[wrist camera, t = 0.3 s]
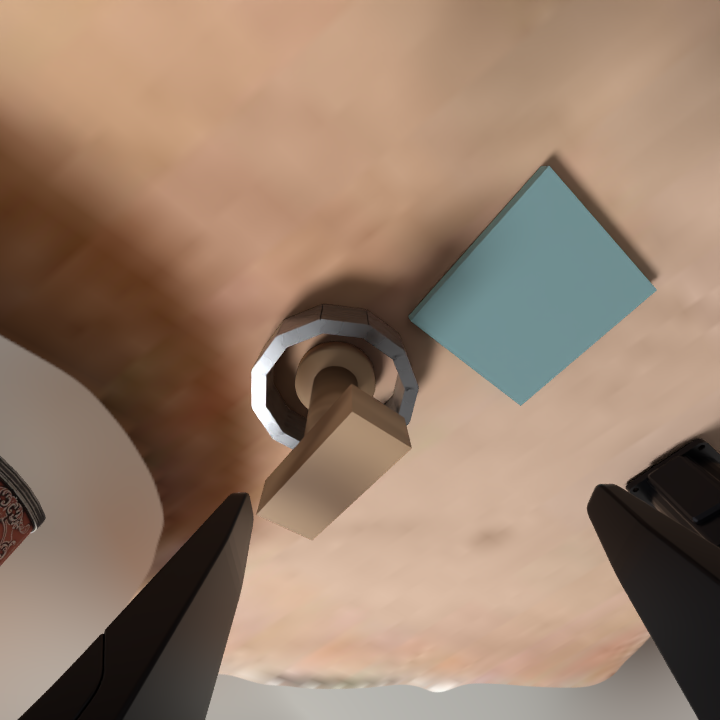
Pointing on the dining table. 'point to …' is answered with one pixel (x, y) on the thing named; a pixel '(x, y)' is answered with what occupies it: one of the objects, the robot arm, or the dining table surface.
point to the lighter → (16, 510)
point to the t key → (333, 442)
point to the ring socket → (310, 324)
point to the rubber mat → (532, 290)
